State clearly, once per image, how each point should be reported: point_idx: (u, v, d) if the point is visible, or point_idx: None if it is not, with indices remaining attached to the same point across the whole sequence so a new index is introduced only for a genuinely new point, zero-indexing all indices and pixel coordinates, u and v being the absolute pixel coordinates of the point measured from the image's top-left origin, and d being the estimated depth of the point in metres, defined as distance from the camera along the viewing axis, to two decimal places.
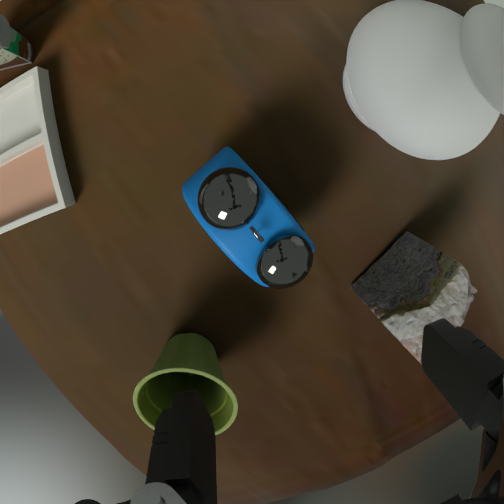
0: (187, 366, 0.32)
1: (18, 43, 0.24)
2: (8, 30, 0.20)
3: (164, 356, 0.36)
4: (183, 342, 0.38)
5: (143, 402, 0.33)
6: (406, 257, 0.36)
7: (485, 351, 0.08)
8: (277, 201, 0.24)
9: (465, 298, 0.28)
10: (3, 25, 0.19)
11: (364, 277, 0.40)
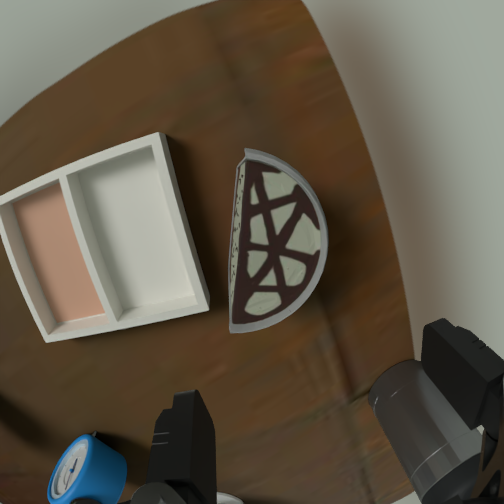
0: None
1: None
2: None
3: None
4: None
5: None
6: None
7: (485, 351, 0.08)
8: None
9: None
10: None
11: None
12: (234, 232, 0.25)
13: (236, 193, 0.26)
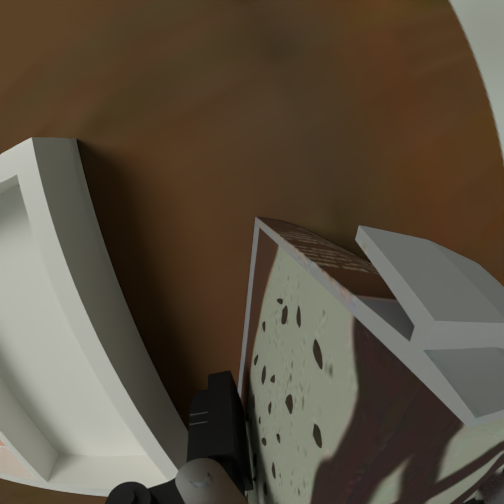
0: None
1: None
2: None
3: None
4: None
5: None
6: None
7: None
8: None
9: None
10: None
11: None
12: (255, 412, 0.09)
13: (257, 299, 0.10)
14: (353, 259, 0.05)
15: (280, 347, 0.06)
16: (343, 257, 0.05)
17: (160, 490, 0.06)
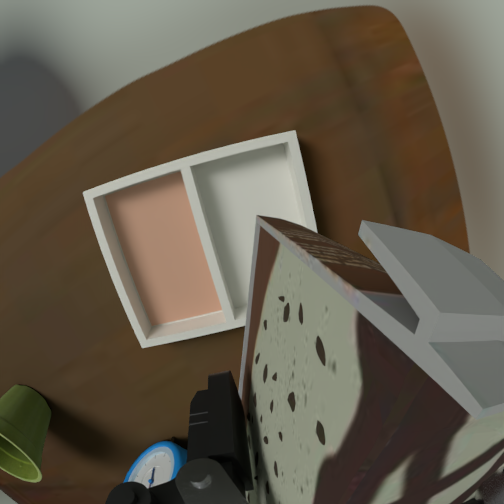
0: (37, 461, 0.26)
1: None
2: None
3: (29, 423, 0.28)
4: (43, 420, 0.31)
5: None
6: None
7: None
8: None
9: None
10: None
11: None
12: (256, 411, 0.09)
13: (258, 298, 0.10)
14: (355, 256, 0.05)
15: (282, 345, 0.06)
16: (345, 254, 0.05)
17: (160, 490, 0.06)
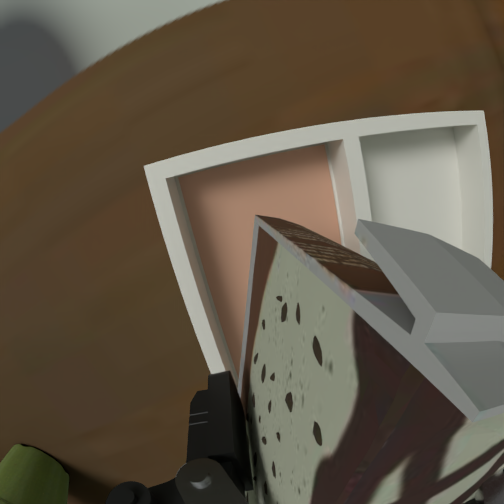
0: None
1: None
2: None
3: (45, 503, 0.17)
4: (62, 493, 0.20)
5: None
6: None
7: None
8: None
9: None
10: None
11: None
12: (255, 411, 0.09)
13: (257, 298, 0.10)
14: (353, 255, 0.05)
15: (280, 345, 0.06)
16: (343, 253, 0.05)
17: (160, 490, 0.06)
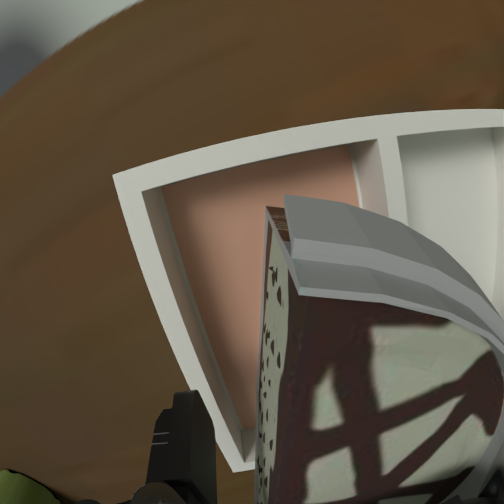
0: None
1: None
2: None
3: None
4: None
5: None
6: None
7: None
8: None
9: None
10: None
11: None
12: (263, 375, 0.10)
13: (266, 276, 0.11)
14: None
15: (272, 306, 0.08)
16: None
17: None
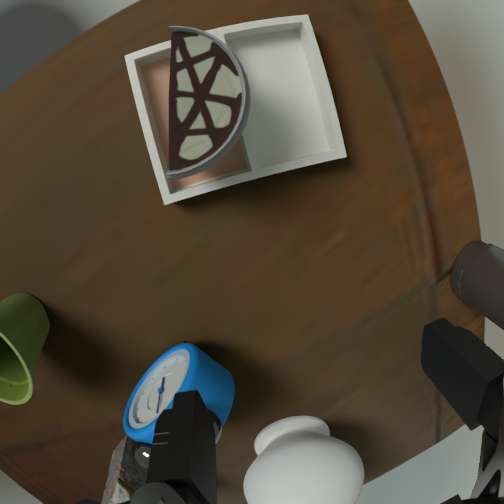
0: (30, 368, 0.26)
1: None
2: (199, 171, 0.23)
3: (25, 324, 0.28)
4: (41, 328, 0.32)
5: None
6: None
7: (485, 351, 0.08)
8: None
9: None
10: (207, 165, 0.23)
11: None
12: None
13: None
14: None
15: None
16: None
17: None
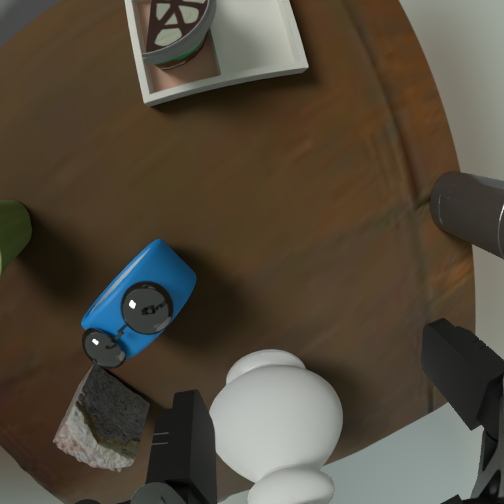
0: (2, 251, 0.27)
1: (169, 61, 0.27)
2: (170, 57, 0.24)
3: (7, 216, 0.30)
4: (22, 227, 0.33)
5: None
6: (128, 410, 0.40)
7: (485, 351, 0.08)
8: (149, 343, 0.28)
9: (111, 467, 0.32)
10: (176, 50, 0.24)
11: (104, 374, 0.42)
12: None
13: None
14: None
15: None
16: None
17: None
